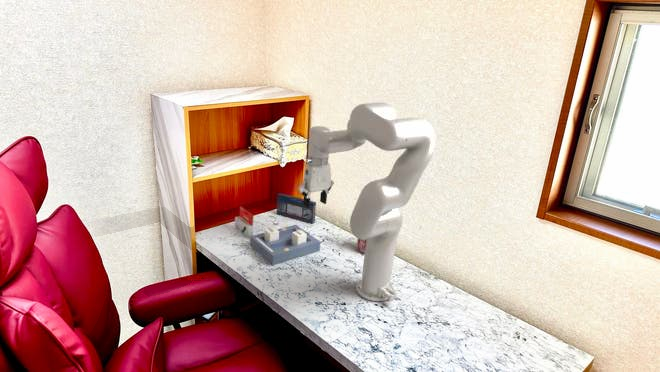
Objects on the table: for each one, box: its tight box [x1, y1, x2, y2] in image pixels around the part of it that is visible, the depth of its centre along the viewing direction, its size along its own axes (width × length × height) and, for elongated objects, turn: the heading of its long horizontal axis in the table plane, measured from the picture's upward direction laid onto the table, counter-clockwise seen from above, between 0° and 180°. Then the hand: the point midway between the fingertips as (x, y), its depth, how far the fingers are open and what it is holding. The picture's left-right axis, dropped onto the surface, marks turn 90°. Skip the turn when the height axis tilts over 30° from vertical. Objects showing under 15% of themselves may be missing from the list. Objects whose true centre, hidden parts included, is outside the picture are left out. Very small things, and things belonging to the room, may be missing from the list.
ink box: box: [234, 205, 254, 239], centre depth 175 cm, size 2×11×10 cm, turn 40°
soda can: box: [356, 238, 367, 255], centre depth 168 cm, size 7×7×12 cm
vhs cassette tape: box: [276, 193, 317, 225], centre depth 191 cm, size 18×3×10 cm, turn 64°
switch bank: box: [249, 224, 321, 266], centre depth 166 cm, size 17×21×4 cm
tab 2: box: [292, 230, 307, 245], centre depth 165 cm, size 4×4×6 cm
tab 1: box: [264, 227, 279, 243], centre depth 165 cm, size 4×4×6 cm
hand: (315, 204), depth 164 cm, fingers open, 7 cm apart
